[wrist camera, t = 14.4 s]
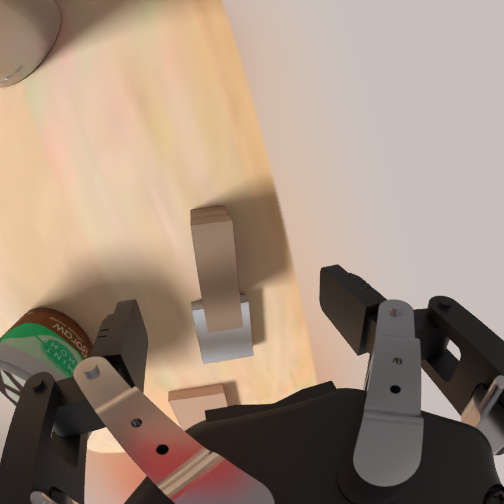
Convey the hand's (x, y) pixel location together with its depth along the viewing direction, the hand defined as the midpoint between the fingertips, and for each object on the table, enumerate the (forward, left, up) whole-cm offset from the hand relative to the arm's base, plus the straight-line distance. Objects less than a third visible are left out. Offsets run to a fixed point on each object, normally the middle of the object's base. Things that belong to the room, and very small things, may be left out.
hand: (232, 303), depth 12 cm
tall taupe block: (+5, 0, -12) cm, 13 cm away
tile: (+17, -4, -11) cm, 21 cm away
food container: (+8, -16, -12) cm, 22 cm away
